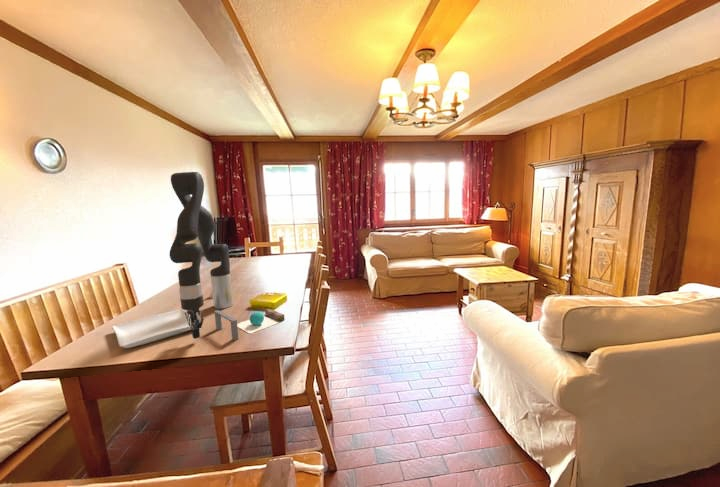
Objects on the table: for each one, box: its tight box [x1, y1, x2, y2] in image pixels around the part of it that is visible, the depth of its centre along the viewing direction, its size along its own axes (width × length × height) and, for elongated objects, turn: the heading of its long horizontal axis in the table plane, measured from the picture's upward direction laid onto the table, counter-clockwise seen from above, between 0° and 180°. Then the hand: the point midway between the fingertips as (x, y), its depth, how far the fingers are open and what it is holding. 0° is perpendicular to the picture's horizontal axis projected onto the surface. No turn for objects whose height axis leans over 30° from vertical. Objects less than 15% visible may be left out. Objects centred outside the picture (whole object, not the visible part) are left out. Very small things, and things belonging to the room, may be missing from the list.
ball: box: [249, 311, 265, 325], centre depth 129 cm, size 6×6×6 cm
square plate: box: [111, 308, 192, 349], centre depth 125 cm, size 27×27×4 cm
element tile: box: [249, 291, 288, 311], centre depth 155 cm, size 15×15×5 cm
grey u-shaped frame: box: [214, 309, 239, 341], centre depth 120 cm, size 17×2×8 cm, turn 49°
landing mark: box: [237, 315, 280, 335], centre depth 130 cm, size 14×14×1 cm
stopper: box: [264, 309, 285, 322], centre depth 137 cm, size 13×2×2 cm, turn 49°
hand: (196, 337), depth 114 cm, fingers closed
